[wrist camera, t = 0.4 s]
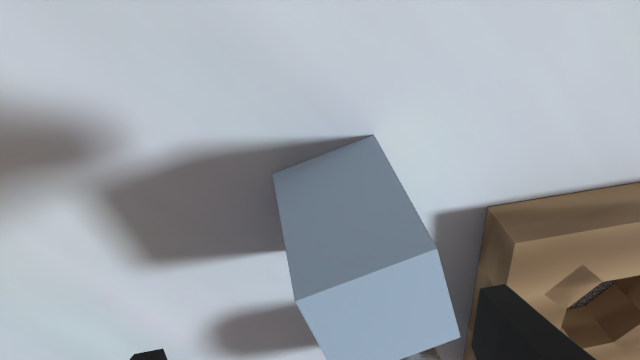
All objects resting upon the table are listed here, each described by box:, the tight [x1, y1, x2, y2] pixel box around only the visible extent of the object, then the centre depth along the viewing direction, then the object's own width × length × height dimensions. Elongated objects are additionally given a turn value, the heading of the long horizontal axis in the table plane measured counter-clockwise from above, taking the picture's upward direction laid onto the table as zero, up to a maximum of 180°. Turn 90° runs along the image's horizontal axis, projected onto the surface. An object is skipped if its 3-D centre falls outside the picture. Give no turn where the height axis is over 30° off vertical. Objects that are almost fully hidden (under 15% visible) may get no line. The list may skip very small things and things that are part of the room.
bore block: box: [464, 182, 640, 360], centre depth 26 cm, size 12×12×3 cm
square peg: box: [272, 135, 460, 360], centre depth 19 cm, size 4×4×7 cm
